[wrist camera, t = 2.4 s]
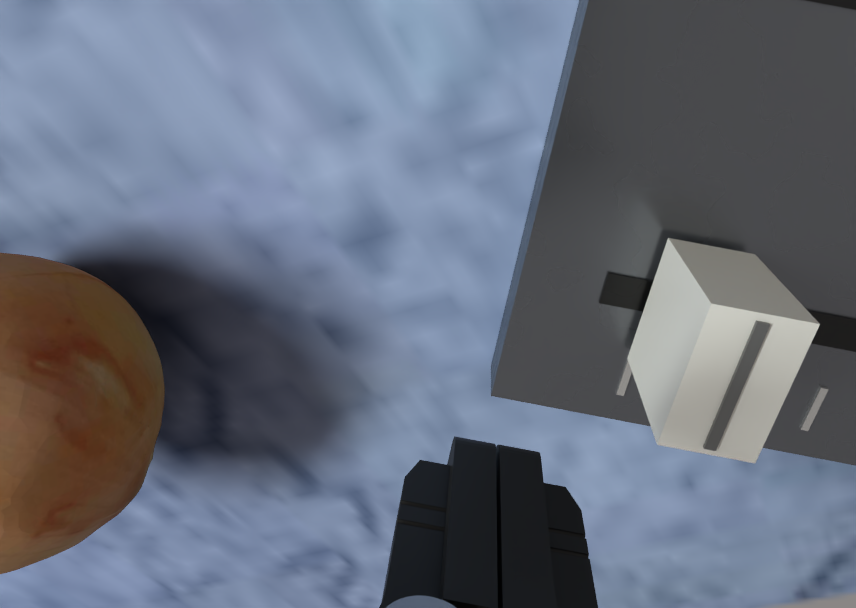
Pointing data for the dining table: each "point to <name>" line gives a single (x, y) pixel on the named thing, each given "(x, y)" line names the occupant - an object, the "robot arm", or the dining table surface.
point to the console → (691, 197)
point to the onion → (69, 407)
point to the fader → (717, 350)
